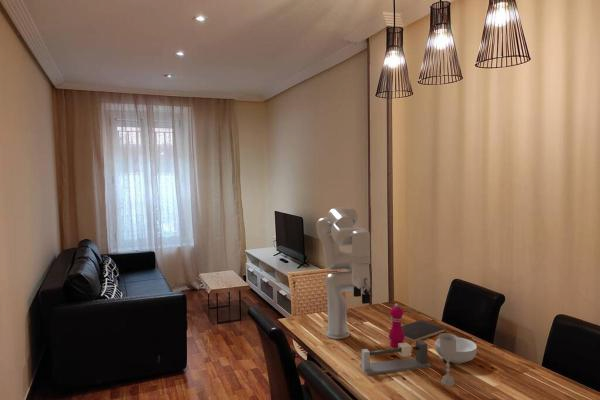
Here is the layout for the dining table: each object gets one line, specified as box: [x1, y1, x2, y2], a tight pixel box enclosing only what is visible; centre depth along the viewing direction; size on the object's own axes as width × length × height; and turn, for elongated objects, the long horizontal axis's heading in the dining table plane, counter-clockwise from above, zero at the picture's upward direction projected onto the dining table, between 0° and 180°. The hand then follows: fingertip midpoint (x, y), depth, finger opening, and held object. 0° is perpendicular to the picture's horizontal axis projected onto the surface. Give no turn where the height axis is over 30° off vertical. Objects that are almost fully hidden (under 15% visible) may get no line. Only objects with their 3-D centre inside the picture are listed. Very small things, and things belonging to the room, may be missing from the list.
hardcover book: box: [389, 319, 446, 343], centre depth 213 cm, size 16×23×2 cm
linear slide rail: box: [359, 339, 432, 376], centre depth 175 cm, size 8×28×9 cm, turn 102°
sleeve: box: [397, 342, 412, 358], centre depth 176 cm, size 4×4×4 cm
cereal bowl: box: [434, 336, 478, 365], centre depth 181 cm, size 17×17×7 cm
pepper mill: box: [388, 303, 405, 349], centre depth 196 cm, size 7×7×20 cm
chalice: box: [438, 332, 458, 387], centre depth 161 cm, size 7×7×18 cm
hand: (361, 299), depth 177 cm, fingers open, 9 cm apart
